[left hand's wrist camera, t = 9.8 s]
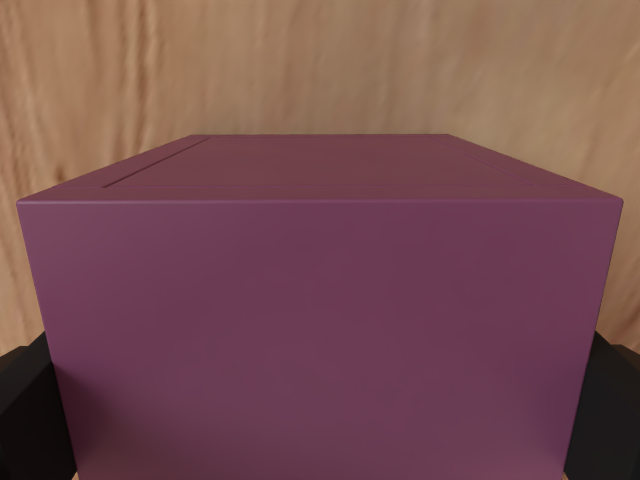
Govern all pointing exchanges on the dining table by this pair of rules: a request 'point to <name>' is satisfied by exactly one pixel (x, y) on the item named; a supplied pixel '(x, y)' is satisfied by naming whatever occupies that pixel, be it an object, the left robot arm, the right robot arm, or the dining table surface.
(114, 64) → the dining table surface
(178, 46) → the dining table surface
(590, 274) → the cabinet
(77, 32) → the dining table surface
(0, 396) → the left robot arm
